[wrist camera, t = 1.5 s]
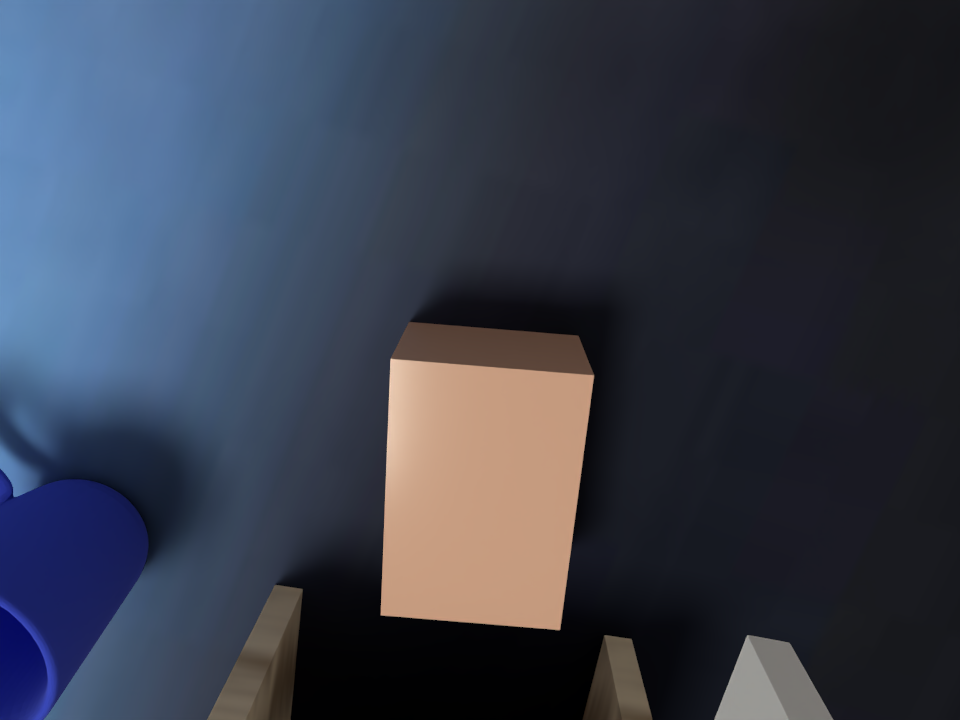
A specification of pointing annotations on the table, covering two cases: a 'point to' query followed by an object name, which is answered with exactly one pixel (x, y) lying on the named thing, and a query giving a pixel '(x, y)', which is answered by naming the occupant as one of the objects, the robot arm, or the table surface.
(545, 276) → the table surface
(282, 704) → the shelf nook
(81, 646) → the mug
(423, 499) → the tan brown block
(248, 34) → the table surface
